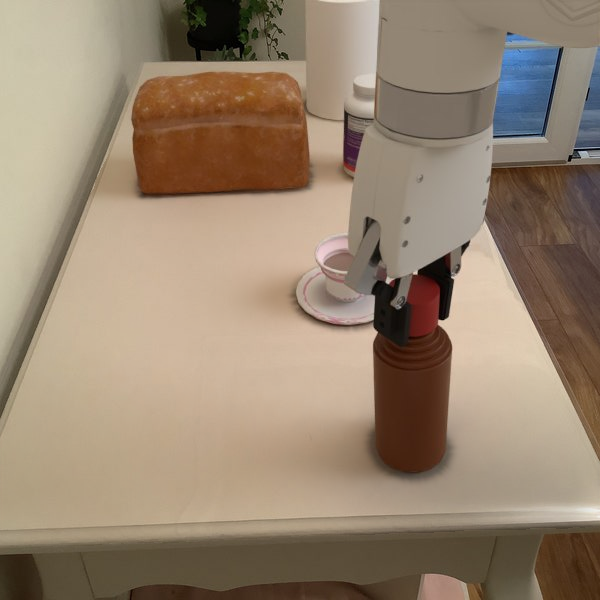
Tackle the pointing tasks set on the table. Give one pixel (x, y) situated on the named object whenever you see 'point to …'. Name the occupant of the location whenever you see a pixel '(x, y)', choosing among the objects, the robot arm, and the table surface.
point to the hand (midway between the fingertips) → (411, 322)
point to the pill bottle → (357, 119)
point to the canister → (338, 51)
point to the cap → (422, 305)
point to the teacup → (334, 286)
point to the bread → (220, 133)
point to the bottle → (412, 399)
